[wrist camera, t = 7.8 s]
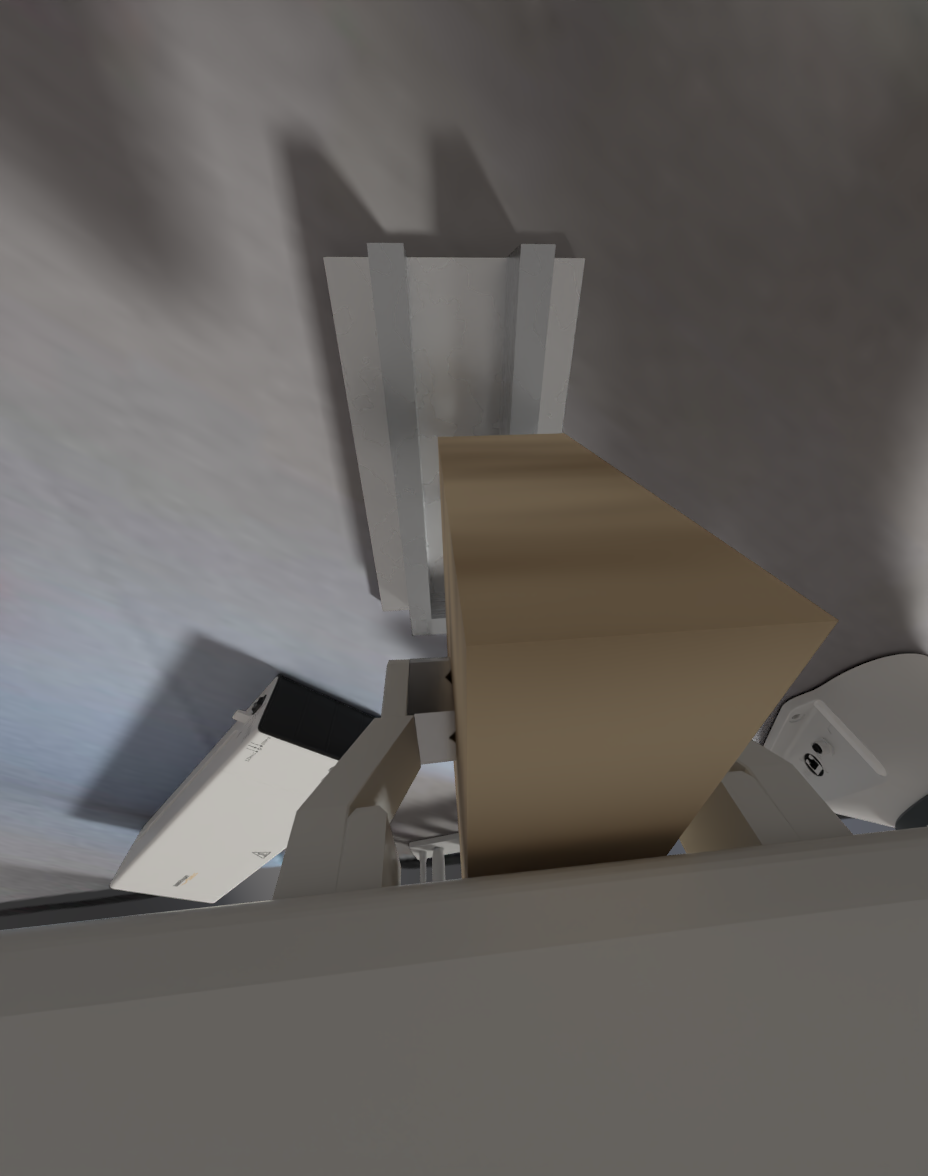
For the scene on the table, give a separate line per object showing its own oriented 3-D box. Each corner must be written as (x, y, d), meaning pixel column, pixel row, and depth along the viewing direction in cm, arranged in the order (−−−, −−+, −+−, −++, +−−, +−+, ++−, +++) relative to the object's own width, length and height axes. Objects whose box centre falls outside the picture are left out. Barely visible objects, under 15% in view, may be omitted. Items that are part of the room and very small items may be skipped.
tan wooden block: (526, 705, 14) (596, 952, 9) (450, 711, 14) (468, 968, 8) (564, 433, 9) (838, 620, 3) (437, 437, 8) (465, 645, 3)
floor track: (536, 594, 29) (550, 627, 26) (384, 603, 28) (378, 638, 25) (577, 261, 18) (612, 244, 15) (327, 260, 17) (304, 242, 14)
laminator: (236, 845, 49) (214, 904, 44) (133, 823, 44) (94, 887, 39) (389, 714, 37) (384, 775, 32) (271, 660, 31) (241, 723, 26)
